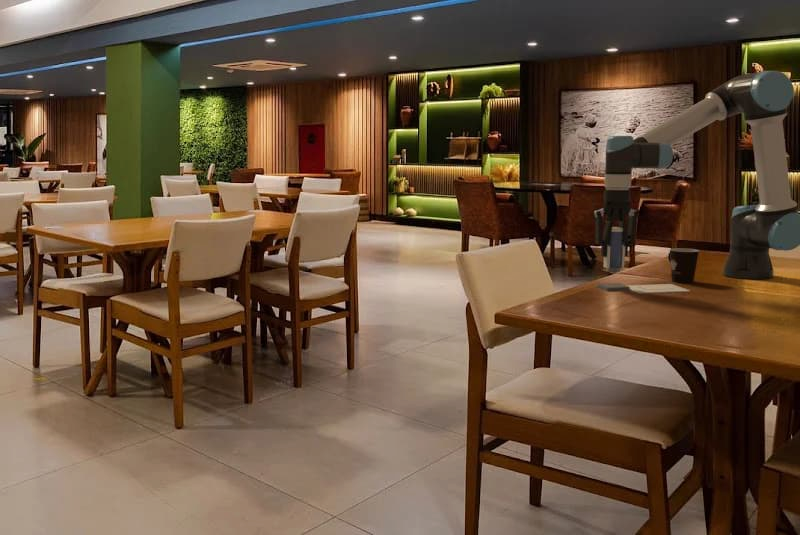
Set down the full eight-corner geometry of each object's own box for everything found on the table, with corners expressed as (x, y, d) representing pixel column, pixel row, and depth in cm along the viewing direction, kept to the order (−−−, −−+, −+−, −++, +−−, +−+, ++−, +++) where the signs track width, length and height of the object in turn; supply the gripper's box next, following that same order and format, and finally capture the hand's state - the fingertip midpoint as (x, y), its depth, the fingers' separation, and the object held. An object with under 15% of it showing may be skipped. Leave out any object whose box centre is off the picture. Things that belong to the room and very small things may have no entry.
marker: (617, 269, 229) (619, 227, 227) (623, 272, 225) (625, 228, 223) (604, 270, 228) (605, 227, 226) (609, 272, 224) (611, 228, 222)
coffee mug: (699, 284, 234) (701, 252, 232) (670, 283, 236) (671, 251, 234) (692, 278, 245) (694, 247, 243) (664, 277, 247) (666, 246, 245)
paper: (671, 285, 233) (671, 283, 233) (690, 291, 222) (690, 290, 222) (622, 286, 230) (622, 285, 230) (638, 293, 220) (639, 292, 220)
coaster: (619, 286, 231) (619, 282, 231) (629, 290, 225) (629, 287, 224) (597, 286, 230) (597, 283, 230) (607, 291, 223) (607, 287, 223)
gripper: (638, 188, 228) (634, 265, 231) (584, 188, 225) (581, 266, 229) (650, 189, 220) (646, 268, 224) (595, 189, 218) (591, 270, 221)
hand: (613, 267), depth 226 cm, fingers closed on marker, 4 cm apart
